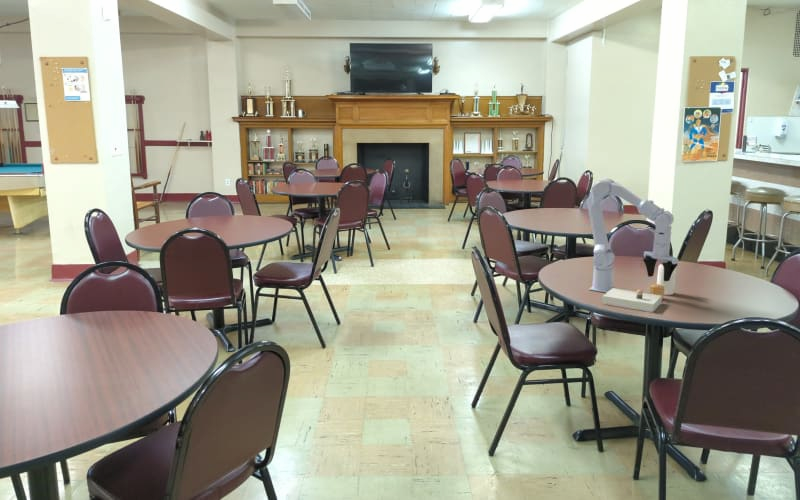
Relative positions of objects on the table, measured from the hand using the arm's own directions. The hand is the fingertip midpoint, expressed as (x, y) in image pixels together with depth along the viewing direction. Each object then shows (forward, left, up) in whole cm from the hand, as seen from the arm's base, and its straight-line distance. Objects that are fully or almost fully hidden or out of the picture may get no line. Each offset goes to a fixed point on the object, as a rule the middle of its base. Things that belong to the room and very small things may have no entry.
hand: (658, 278), depth 241 cm
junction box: (+13, -6, -8) cm, 16 cm away
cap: (0, 0, -8) cm, 8 cm away
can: (-10, +1, -8) cm, 13 cm away
